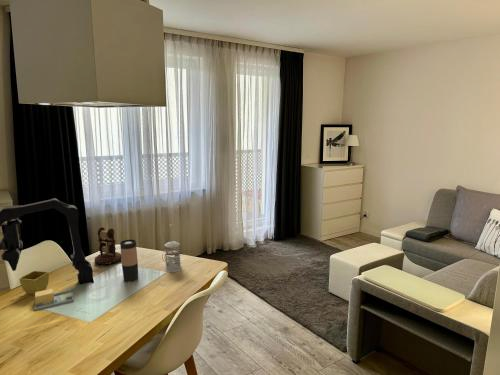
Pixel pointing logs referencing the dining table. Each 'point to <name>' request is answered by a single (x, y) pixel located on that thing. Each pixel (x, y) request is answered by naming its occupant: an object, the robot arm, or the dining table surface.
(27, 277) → the flower pot
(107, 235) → the brown sculpture
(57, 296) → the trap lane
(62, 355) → the dining table surface
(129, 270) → the travel mug
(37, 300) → the ochre block
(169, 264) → the french press
